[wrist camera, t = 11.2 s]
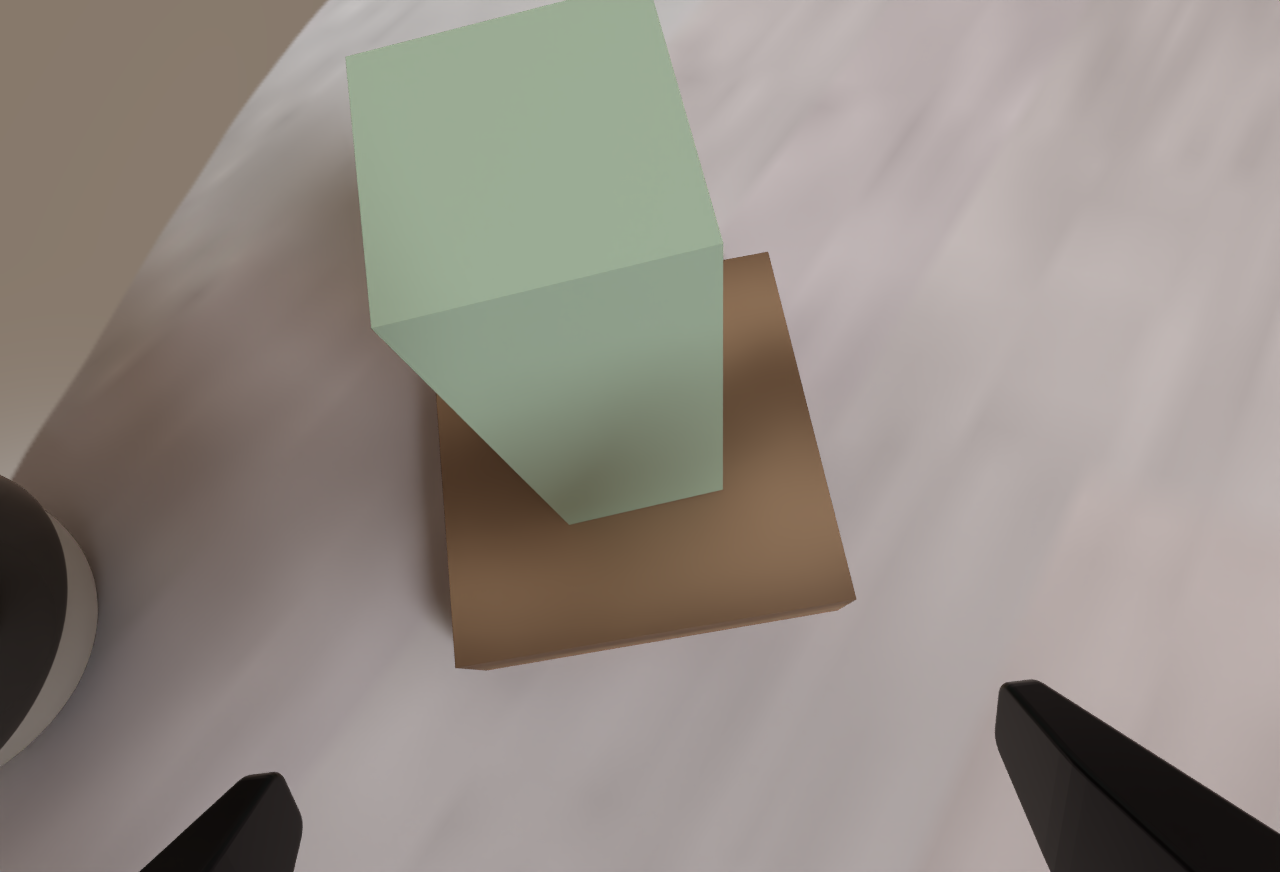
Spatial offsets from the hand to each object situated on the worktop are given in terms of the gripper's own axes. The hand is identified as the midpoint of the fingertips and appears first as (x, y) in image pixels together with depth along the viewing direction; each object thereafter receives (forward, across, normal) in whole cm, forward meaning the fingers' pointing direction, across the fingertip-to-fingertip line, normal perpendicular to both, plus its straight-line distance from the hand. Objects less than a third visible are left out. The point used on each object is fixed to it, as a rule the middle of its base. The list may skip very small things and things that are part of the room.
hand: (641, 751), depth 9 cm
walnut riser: (+15, 0, +4) cm, 16 cm away
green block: (+13, 0, +2) cm, 13 cm away
